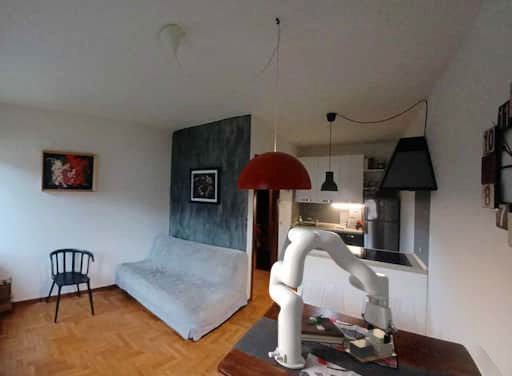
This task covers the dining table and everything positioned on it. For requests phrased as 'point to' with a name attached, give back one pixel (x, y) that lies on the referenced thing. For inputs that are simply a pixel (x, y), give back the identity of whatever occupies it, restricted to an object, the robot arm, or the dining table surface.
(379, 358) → the shelf board
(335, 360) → the dining table surface
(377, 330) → the white book
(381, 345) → the white book
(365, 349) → the grey book
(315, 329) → the decorative book
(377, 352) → the white book
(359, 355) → the grey book
